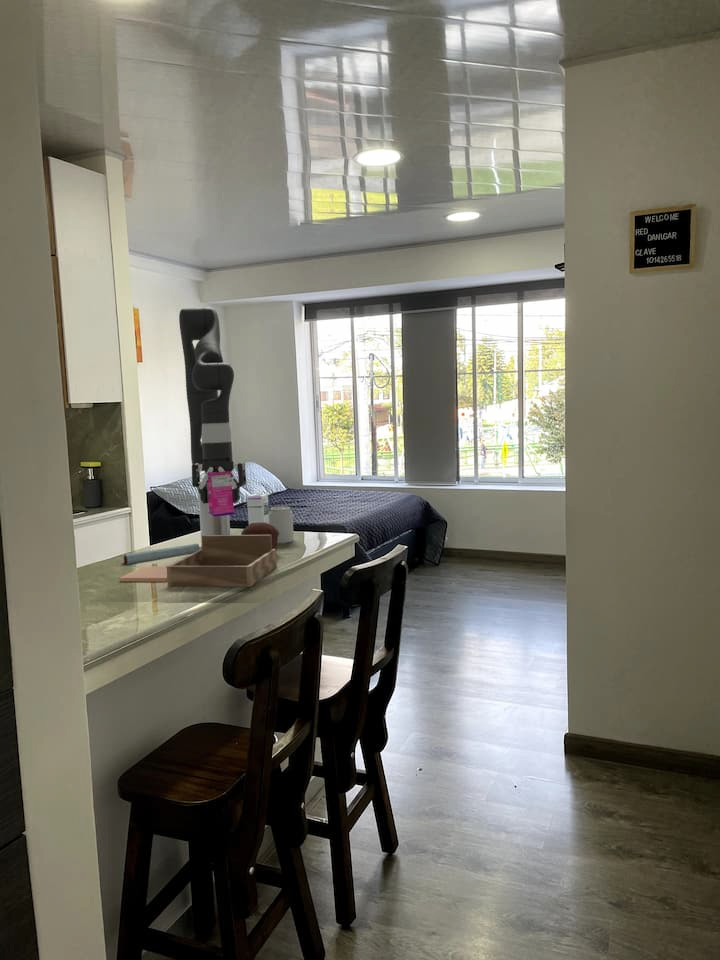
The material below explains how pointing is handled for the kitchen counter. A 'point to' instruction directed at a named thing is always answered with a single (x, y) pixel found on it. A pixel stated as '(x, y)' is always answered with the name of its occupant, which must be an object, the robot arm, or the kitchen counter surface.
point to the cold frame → (225, 562)
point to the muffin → (262, 531)
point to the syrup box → (258, 508)
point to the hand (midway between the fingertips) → (220, 502)
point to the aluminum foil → (160, 553)
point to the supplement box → (219, 494)
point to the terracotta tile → (146, 575)
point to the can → (282, 523)
